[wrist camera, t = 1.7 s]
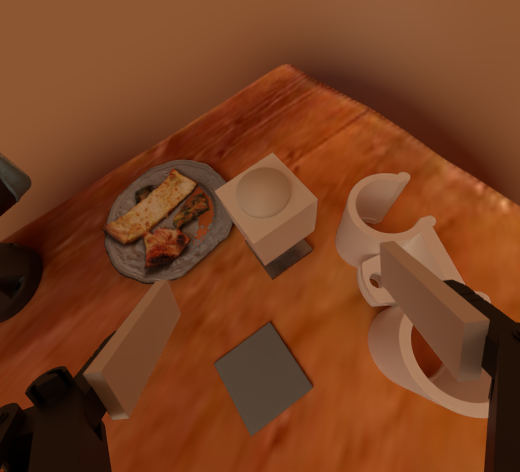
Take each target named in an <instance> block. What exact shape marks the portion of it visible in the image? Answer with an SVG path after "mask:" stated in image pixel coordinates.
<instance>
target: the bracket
mask: <svg viewBox="0 0 520 472" xmlns="http://www.w3.org/2000/svg"><path fill="white" fill-rule="evenodd" d="M409 180H410V175H409V174H408V173H406V172H401V173H399V174H398V175H397V174H390V173H380V174H374V175H371V176H368V177H366V178H364V179H362V180H361V181H359V182H358V183H357V184H356V185H355V186H354V187H353V189H352V190H351V192H350V194H349V197H348V200H347V203H346V206H345V209H344V212H343V215H342V218H341V221H340V224H339V227H338V230H337V233H336V237H335V245H336V249H337V251H338V253H339V255H340V256H341V257H342V259H343V260H344V261H346V262H347V263H348V264H350V265H352V266H354V267H357V268H358V269H357V273H356V274H357V283H358V286H359V289H360V291H361V293H362V295H363V297H364V298H365V300H366V301H367V302H368V303H369V304H370V305H371V306H391V307H389V308H387V309H385V310H383V311H381V312H380V313H379V314H378V315H377V316H376V317H375V318H374V319H373V321H372V323H371V325H370V328H369V332H368V346H369V350H370V353H371V356H372V358H373V360H374V362H375V364H376V365H377V367H378V368H379V369H380V371H381V372H382V373H383V374H384V375H385V376H386V377H388V378H389V379H390V380H391V381H393V382H395V383H396V384H398V385H400V386H402V387H404V388H406V389H408V390H410V391H412V392H415V393H417V394H419V395H421V396H423V397H425V398H427V399H429V400H431V401H433V402H435V403H437V404H439V405H441V406H443V407H445V408H447V409H449V410H452V411H454V412H456V413H459V414H462V415H465V416H469V417H475V418H488V412H489V399H488V395H489V389H490V384H491V376H490V375H489V374H488V373H487V372H486V371H485V370H484V369H483V368H482V372H481V378H480V380H473V381H464V382H457V380H456V379H455V378H454V377H453V375H452V374H451V373H450V371H449V370H448V369H447V368H446V366H445V365H444V364H442V365H441V367H440V369H439V370H438V371H437V372H436V373H435V374H434V375H433V376H431V377H430V378H427V377H426V376H425V375H424V373H423V372H422V370H421V369H420V367H419V365H418V364H417V361H416V359H415V357H414V354H413V350H412V346H411V331H412V327H413V324H412V322H411V321H410V320H409V318H408V317H407V316H406V315H405V313H404V312H403V311H402V309H401V308H400V307H399V306H398V304H397V303H396V302H395V300H394V299H393V298H392V296H391V295H390V294H389V293H388V291H387V290H386V289H385V287H384V286H383V285H382V284H381V266H380V243H382V242H388V241H394V242H396V243H397V244H398V245H399V246H401V247H402V248H403V249H404V250H405V251H407V252H408V253H409V254H410V255H411V256H413V257H414V258H415V259H416V260H418V261H419V262H420V263H421V264H422V265H424V266H425V267H426V268H427V269H428V270H430V271H431V272H432V273H433V274H435V275H436V276H437V277H438V278H439V279H441V280H442V281H444V280H451V279H453V280H455V281H457V282H460V283H462V284H464V285H465V283H464V281H463V279H462V278H461V276H460V274H459V272H458V271H457V269H456V267H455V265H454V264H453V262H452V260H451V258H450V257H449V255H448V253H447V251H446V250H445V248H444V246H443V244H442V243H441V241H440V239H439V237H438V236H437V234H436V232H435V230H434V229H433V226H434V225H435V224H436V219H435V218H434V217H433V216H431V215H430V216H426V217H422V218H420V219H419V220H418V221H417V222H416V223H415V224H414V226H413V227H412V228H411V229H409V230H407V231H405V232H402V233H396V234H388V233H382V232H379V231H376V230H374V229H372V228H370V227H369V226H367V225H366V224H365V223H364V222H367V223H371V224H377V223H381V221H382V220H383V218H384V217H385V215H386V214H387V212H388V211H389V209H390V208H391V206H392V205H393V203H394V202H395V201H396V199H397V198H398V196H399V195H400V193H401V192H402V190H403V189H404V187H405V186H406V184H407V183H408V182H409ZM370 278H371V279H374V280H376V281H377V283H378V285H379V288H376V287H374V286H373V285H372V284H371V283H370ZM474 292H475V293H476V294H478V295H480V296H481V297H482V298H484V300H486V301H488V302H489V303H490V304H491V300H490V298H489V297H488V296H487V295H486V294H485V293H483V292H477V291H474Z"/></svg>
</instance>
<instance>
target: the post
mask: <svg viewBox="0 0 520 472" xmlns="http://www.w3.org/2000/svg"><path fill="white" fill-rule="evenodd" d="M245 242H246V244H247V245H248V246H249V248H250V249H251V251H252V252H253V253H254V255H255V256H256V258H257V259H258V260H259V262H260V263H261V265H262V266H263V267H264V269H265V270H266V271H267V273H268V274H269V276H270V277H271V278H272V280H273V279H275V278H276V277H277V276H279V275H280V274H282V273H283V272H284V271H286V270H287V269H288V268H290V267H291V266H293V265H294V264H295V263H297V262H298V261H300V260H301V259H302V258H304V257H305V256H306V255H308V254H309V253H311V252H312V251H313V249H312V248H311V247H310V245H309V244H308V243H307V242H306V241H305V240H304V238H303V239H302V240H301V241H299V242H298V243H296V244H295V245H294V246H292V247H291V248H289V249H288V250H287V251H285V252H284V253H282V254H281V255H280V256H278V257H277V258H275V259H274V260H273V261H271V262H270V263H268V264H267V265H266V266H265V265H264V264H263V262H262V261H261V260H260V258H259V257H258V255H257V254H256V253H255V251H254V250H253V249H252V247H251V246H250V244H249V243H248V242H247V240H245Z"/></svg>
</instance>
